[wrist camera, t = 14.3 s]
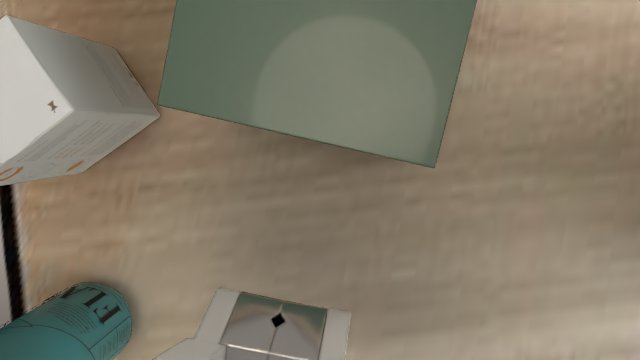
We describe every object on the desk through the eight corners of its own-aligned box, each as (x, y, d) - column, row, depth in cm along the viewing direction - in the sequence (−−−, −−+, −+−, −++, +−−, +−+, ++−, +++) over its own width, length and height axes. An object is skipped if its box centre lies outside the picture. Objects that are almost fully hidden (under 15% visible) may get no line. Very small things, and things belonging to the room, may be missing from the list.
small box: (115, 46, 42) (6, 9, 29) (163, 116, 42) (76, 111, 29) (32, 107, 43) (-110, 98, 30) (80, 175, 43) (-40, 196, 30)
